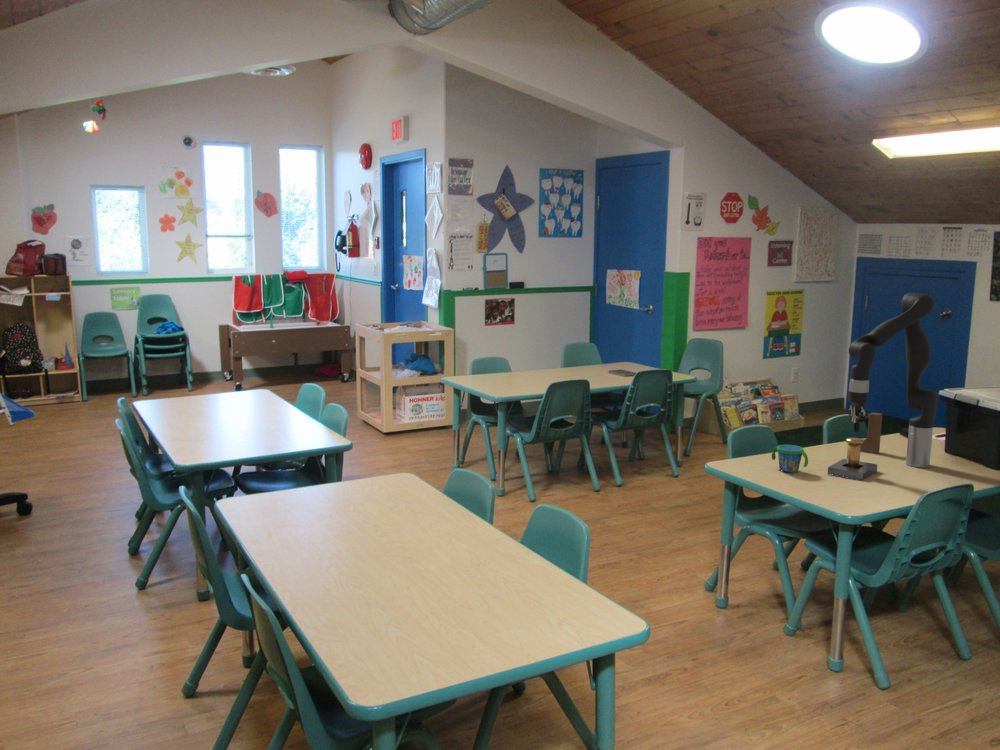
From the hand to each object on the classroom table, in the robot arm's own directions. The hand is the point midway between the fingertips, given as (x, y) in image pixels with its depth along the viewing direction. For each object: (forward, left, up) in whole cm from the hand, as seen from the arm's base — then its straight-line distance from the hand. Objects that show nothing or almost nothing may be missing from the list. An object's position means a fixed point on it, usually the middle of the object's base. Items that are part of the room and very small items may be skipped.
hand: (855, 431), depth 349 cm
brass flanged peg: (0, 0, -18) cm, 18 cm away
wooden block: (-41, -7, -18) cm, 45 cm away
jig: (0, 0, -18) cm, 18 cm away
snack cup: (+15, -21, -18) cm, 31 cm away
